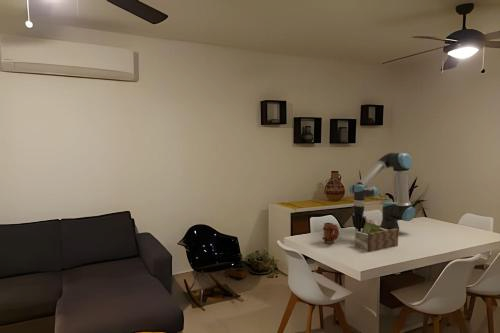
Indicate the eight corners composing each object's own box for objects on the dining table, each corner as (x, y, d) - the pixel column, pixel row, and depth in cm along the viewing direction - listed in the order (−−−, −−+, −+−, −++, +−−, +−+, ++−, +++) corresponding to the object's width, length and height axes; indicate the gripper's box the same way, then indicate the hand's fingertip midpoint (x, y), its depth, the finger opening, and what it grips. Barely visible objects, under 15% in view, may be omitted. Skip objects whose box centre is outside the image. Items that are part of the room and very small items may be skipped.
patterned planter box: (381, 240, 257) (381, 224, 256) (397, 245, 244) (398, 229, 243) (353, 246, 243) (353, 229, 242) (369, 251, 231) (370, 234, 230)
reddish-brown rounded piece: (320, 241, 254) (320, 221, 253) (329, 240, 257) (329, 220, 256) (332, 247, 240) (332, 225, 239) (341, 246, 244) (342, 224, 243)
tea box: (375, 245, 243) (381, 225, 242) (361, 241, 246) (366, 221, 244) (373, 240, 258) (378, 221, 256) (360, 236, 260) (365, 217, 259)
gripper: (348, 204, 260) (347, 235, 261) (362, 207, 248) (361, 239, 250) (355, 203, 263) (354, 234, 265) (369, 206, 252) (368, 238, 254)
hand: (357, 237), depth 257 cm, fingers closed
